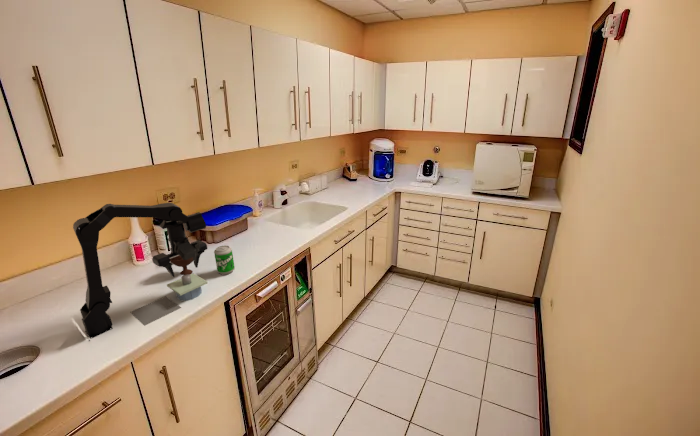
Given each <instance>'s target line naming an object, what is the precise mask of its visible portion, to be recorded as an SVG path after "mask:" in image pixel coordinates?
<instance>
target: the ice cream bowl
mask: <svg viewBox="0 0 700 436" xmlns="http://www.w3.org/2000/svg"><path fill="white" fill-rule="evenodd" d="M170 253H172V251H171V250H170ZM170 263H172V265H174V266H175V267H181V268H182V270H181V271H180V272H179V275H181V276H183V275H187V274H189V275H191V274H193V270H192V269H190V268H188V266H189V265H190V264H192V263H194V261H193V257H192V258H190V259H188V260H183V259H182V257H181V256H177V257H174V258H171V259H170Z"/></svg>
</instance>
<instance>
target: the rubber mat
mask: <svg viewBox="0 0 700 436" xmlns="http://www.w3.org/2000/svg"><path fill="white" fill-rule="evenodd" d="M180 309H182V307H181V306H180V305H179V304H177V303H176V302H175V301H173V300H172V299H171V298H169V297H168V296H167V295H165V296H162V297H160V298H157V299H155V300H154V301H150V302H149V303H146V304H145V305H143V306H140V307H138V308H136V309H133V310H132V311H130V312H129V313H130V314H132V315H133V317H134V318H135V319H136V320H138V321H139V323H141V324H142V325H143V326H147V325H149V324H151V323H153V322H156V321H157V320H160V319H161V318H164V317H165V316H167V315H169V314H172V313H174V312H175V311H177V310H180Z"/></svg>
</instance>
